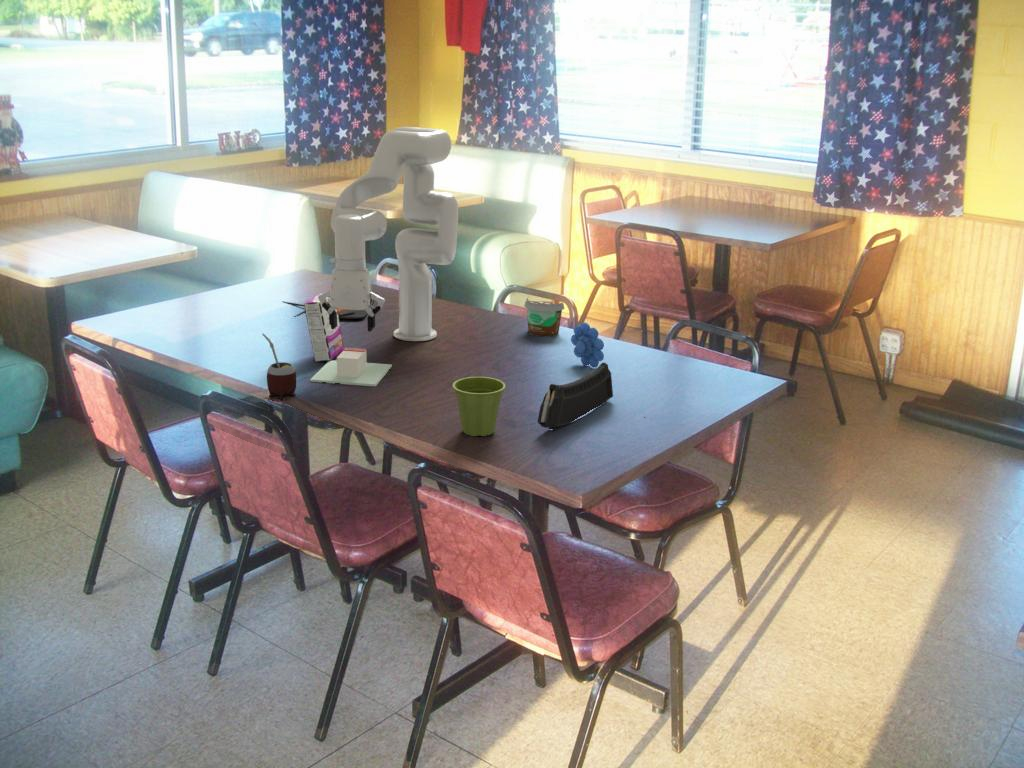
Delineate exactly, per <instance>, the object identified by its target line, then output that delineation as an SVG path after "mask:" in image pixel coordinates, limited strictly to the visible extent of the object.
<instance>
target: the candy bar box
mask: <svg viewBox="0 0 1024 768" xmlns="http://www.w3.org/2000/svg"><path fill="white" fill-rule="evenodd" d="M321 294H323V292H321V293H318V294H316V295H314V296H313V297H312V298H311V299H309V300H307V301H306V302H304V303H303V305H304V306H305V307H304V306H303V307H304V311H306V313H305V317H306V321H307V327H308V333H309V337H310V342H311V348H312V352H313V359H314V362H329V361H331V360H333V359H335V358H337V357H338V356H339V355H340V354H341V353H342V352H343V350H344V349H345V346H344V340H343V335H342V330H341V324H340V323H341V322H340V319H339V317H338V312H337V309H335V311H336V312H337V327H336V328H335V329H331V325H330V324H329V314H328V313H327V311H326V310H325V309H324V308H323V307H322V304H321V302H320V301H319V299H318V296H320V295H321ZM326 301H327V302H328V303H329V304H330V296H329V297H327V298H326Z"/></svg>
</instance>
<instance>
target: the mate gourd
mask: <svg viewBox="0 0 1024 768" xmlns="http://www.w3.org/2000/svg"><path fill="white" fill-rule="evenodd" d="M261 335H262V336H263V337H264V339H266V341H267V342H268V343H269V347H270V349H271V351H272V355H273V357H274V361H275V362H274V363H271V364H270V365H269V366H268V369H267V373H266V385H267V389H268V393H269V395H268V397H269V398H270V399H272V398H279V400H280V402H284V399H285V398H295V397H296V394H295V392H296V389H297V371H296V368H295V367H294V366H293V365H292V364H291V363H289V362H285V361H284V362H283V361H282V362H279V359H278V357H277V354H276V353H277V352H276V351H275V346H274V343H272V341H271V339H270V338H269V337H268V336H267V335H266V334H265V333H262V334H261Z"/></svg>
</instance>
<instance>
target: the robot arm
mask: <svg viewBox="0 0 1024 768" xmlns="http://www.w3.org/2000/svg"><path fill="white" fill-rule="evenodd" d="M451 149H452V140H451V136H450V134H449V133H448V132H447V131H446V130H444V129H441V128H431V127H430V128H428V127H416V126H400V127H399V126H398V127H395V128H394V129H393V130H390V131H387V132H386V133H384V134H383V136H382V137H381V139H380V140H379V143H378V145H377V148H376V150H375V153H374V155H373V158H372V160H371V162H370V164H369V167H368V169H367V172H366V173H365V174H363V175H362V176H360V177H358V178H357V179H355V180H354V181H353V182H352V183H350V184H349V185H348V186H347V187H345V188H344V190H343V191H342V192H341V193H340V194H339V197H338V198H337V201H336V203H335V206H334V208H333V211H332V213H331V217H330V227H331V230H332V231H333V234H334V254H335V257H334V258H332V257H331V258H330V259H329V264H330V265H331V264H332V265H334V268H333V269H332V270H331V277H330V286H329V287H330V288H329V289H330V290H328V291H326V292H324V293H323V292H322V293H323V294H321V293H320V294H321V295H320V296H318V299H319V301H320V302H321V304H322V307H323V308H324V309H325V310H326V311H327V313H328V314H329V324H330V325H331V329H335V328H336V327H337V312H336V311H335V309H349V310H365V311H366V312H367V314H368V316H367V331H368V332H370V333H371V332H372V331H373V330H374V329H375V327H376V314H377V313H379V311H381V309H382V308H383V307H384V305H385V302H386V299H385V297H382V296H381V295H379V294H377V293H375V292H373V290H372V282H371V277H370V271H369V269H368V268H367V267H366V265H367V263H366V262H367V261H366V259H367V258H366V242H367V241H376V240H379V239H380V238H382V237H383V236H384V235H385V233H386V232H387V228H388V220H387V218H386V216H385V215H384V214H383V212H380V211H379V210H374V209H367V208H366V209H365V208H357V207H358V206H360V205H361V204H362V203H364V202H366V201H368V200H370V199H373V198H377V197H381V196H384V195H386V194H389V193H391V192H393V191H395V190H396V188H397V187H398V186H399V185H398V184H399V182H400V179H401V178H402V176H403V189H402V190H403V191H402V193H403V194H402V215H403V218H404V220H405V221H407V222H409V223H410V224H411V223H412V224H415V225H417V224H418V225H426V226H427V225H428V226H436V227H437V230H434V229H433V230H432V229H425V228H417V227H416V228H415V227H414V228H413V227H411V228H405V229H402V230H401V231H399V232H398V234H397V235H396V238H395V241H394V242H395V243H394V244H395V245H394V246H395V253H396V257H397V258H396V259H397V264H398V266H397V268H398V328H396V329H395V330H394V331H393V337H395V338H396V339H398V340H402V341H406V342H426V341H431V340H433V339H435V338H436V337H437V335H438V333H437V330H435V329H433V328H432V327H433V326H432V307H433V306H432V305H433V296H432V295H433V277H432V273H431V271H430V269H429V267H428V265H427V264H429V265H437V266H438V265H440V266H446V265H447V266H448V265H451V264H452V263H453V262H454V260H455V257H456V253H457V246H458V245H457V244H458V243H457V242H458V229H459V204H458V200H457V199H456V197H455V195H453V194H452V193H450V192H446V191H435V186H434V185H435V171H434V168H433V167H432V164H437V163H440V162H443V161H445V160H446V159H447V158H448V157H449V155H450V154H451ZM402 174H403V175H402ZM329 296H330V304H329V303H328V302H327V301H326V298H327V297H329ZM372 299H373V300H374V302H377V305H376V307H374V306H373V304H372ZM371 304H372V305H371Z"/></svg>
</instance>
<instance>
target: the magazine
mask: <svg viewBox="0 0 1024 768" xmlns="http://www.w3.org/2000/svg"><path fill="white" fill-rule="evenodd" d="M613 390H614V388H613V380H612V372H611V370H610V369H609V364H607V362H601V363H600V364H599V365H598V366H597V367H595V369H593V370H592V371H590V373H588V374H585V375H584V376H583V377H581V378H579V379H576V380H574V381H570V382H568V383H564V384H560V385H559V384H555V383H551V384H549V388H548V390H547V392H546V393H545V394H544V396H543V400H542V402H541V404H540V407H539V412H538V417H537V423H538V425H540V426H541V427H542V428H546V429H547V428H548V430H549V429H555V428H558V427H562V426H564V425H569V424H568V423H570V422H572V421H574V420H575V419H577V418H578V417H580V416H582V415H584V414H586V413H587V412H589V411H590V410H592V409H594V408H596V407H598V406H600V405H601V406H602V405H604V404H605V403H606V402H607V401H609V400H610V399H612V398H613V397H614V391H613ZM603 403H604V404H603ZM601 406H600V407H601ZM570 424H571V423H570ZM561 425H562V426H561Z"/></svg>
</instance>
